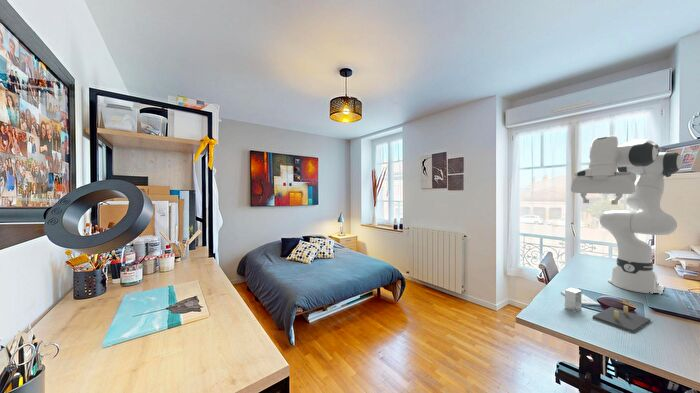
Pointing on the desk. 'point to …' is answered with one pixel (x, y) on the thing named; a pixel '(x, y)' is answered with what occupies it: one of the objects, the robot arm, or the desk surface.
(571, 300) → the clear tall piece
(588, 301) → the external hard drive
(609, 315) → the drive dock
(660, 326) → the desk surface
